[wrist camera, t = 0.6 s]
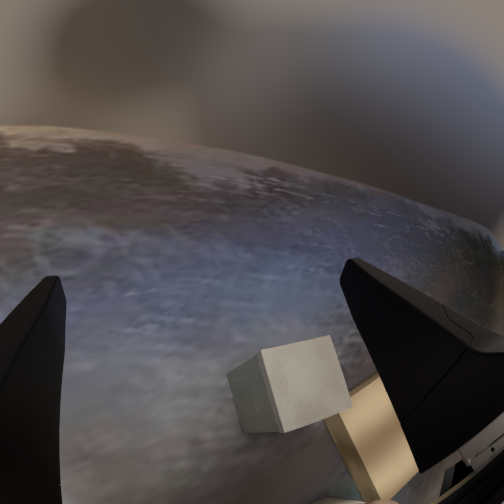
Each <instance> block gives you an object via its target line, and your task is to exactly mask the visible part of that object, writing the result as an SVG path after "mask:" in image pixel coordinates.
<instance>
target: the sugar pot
mask: <svg viewBox="0 0 504 504" xmlns="http://www.w3.org/2000/svg"><path fill="white" fill-rule="evenodd" d="M312 504H399V503H397V502H395V501H391V500H372V501H369V502H362V501H354V500H346V499H340V498H333V497H325V498H321V499H319V500H316V501H315V502H313V503H312Z"/></svg>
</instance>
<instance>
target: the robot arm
mask: <svg viewBox="0 0 504 504" xmlns="http://www.w3.org/2000/svg"><path fill="white" fill-rule="evenodd" d="M340 285H341V288H342V291H343V293H344V296H345V299H346V301H347V304H348V307H349V309H350V312H351V315H352V318H353V320H354V322H355V325H356V327H357V329H358V331H359V333H360V335H361V337H362V340H363V342H364V344H365V346H366V348H367V350H368V352H369V354H370V357H371V359H372V361H373V363H374V365H375V368H376V370H377V372H378V374H379V376H380V379H381V381H382V383H383V385H384V388H385V390H386V392H387V394H388V397H389V399H390V401H391V404H392V406H393V408H394V411H395V413H396V415H397V418H398V420H399V422H400V425H401V428H402V430H403V433H404V435H405V437H406V440H407V442H408V445H409V447H410V450H411V452H412V455H413V457H414V460H415V463H416V465H417V468H418V470H419V472H420V474H422V473H424V472H425V471H427V470H428V469H430V468H432V467H433V466H435V465H436V464H438V463H439V462H441V461H442V460H444V459H445V458H447V457H448V456H450V455H451V454H453V453H454V452H456V451H458V453H459V455H460V456H461V458H462V459H460V460H459V461H458V462H456V463H455V464H454V465H452V466H451V467H449V468H448V469H447V470H445V474H444V479H443V484H442V488H441V492H440V496H439V498H437V499H436V500H435V501H433V502H432V503H430V504H504V335H500V334H498V333H496V332H494V331H492V330H490V329H488V328H486V327H484V326H482V325H480V324H478V323H476V322H474V321H472V320H470V319H468V318H467V317H465V316H463V315H461V314H459V313H457V312H455V311H454V310H452V309H450V308H448V307H447V306H445V305H443V304H442V305H441V303H440V302H438V301H436V300H434V299H433V298H431V297H429V296H427V295H425V294H424V293H422V292H420V291H418V290H417V289H415V288H413V287H411V286H409V285H408V284H406V283H404V282H402V281H400V280H399V279H397V278H395V277H393V276H391V275H389V274H388V273H386V272H384V271H382V270H380V269H378V268H376V267H375V266H373V265H371V264H369V263H367V262H365V261H363V260H361V259H359V258H352V259H348V260H347V261H346V263H345V266H344V269H343V271H342V274H341V277H340ZM65 322H66V298H65V294H64V291H63V287H62V284H61V280H60V278H59V277H58V276H46V277H45V278H44V279H43V280H42V281H41V282H40V283H39V284H38V285H37V286H36V287H35V288H34V289H33V290H32V291H31V292H30V293H29V294H28V295H27V296H26V297H25V298H24V299H23V300H22V301H21V302H20V303H19V304H18V305H17V306H16V308H15V309H14V310H13V311H12V312H11V313H10V314H9V315H8V316H7V317H6V319H5V320H4V321H3V322H2V323H1V324H0V504H62V495H61V486H60V484H61V483H60V460H59V424H60V400H61V386H62V374H63V364H64V353H65Z"/></svg>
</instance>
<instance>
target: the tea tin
mask: <svg viewBox="0 0 504 504" xmlns="http://www.w3.org/2000/svg"><path fill="white" fill-rule="evenodd" d="M256 354H257V355H256V356H255V357H253V358H252V359H250V360H248V361H247V362H245V363H244V364H242V365H241V366H239V367H238V368H236V369H234V370H233V371H231V372H230V373H228V374H227V376H228V380H229V384H230V388H231V392H232V395H233V399H234V403H235V406H236V410H237V414H238V417H239V421H240V424H241V428H242V431H243V434H244V433H264V432H278V431H279V433H286V432H289V431H292V430H295V429H298V428H301V427H303V426H306V425H309V424H312V423H314V422H317V421H320V420H322V419H325V418H327V417H330V416H332V415H335V414H337V413H340V412H342V411H345V410H347V409H349V408H352V407H353V405H352V401H351V398H350V395H349V392H348V389H347V386H346V382H345V379H344V376H343V373H342V370H341V367H340V364H339V361H338V358H337V355H336V352H335V349H334V346H333V343H332V340H331V337H330V335H327V336H323V337H319V338H315V339H310V340H306V341H301V342H297V343H292V344H288V345H283V346H278V347H273V348H268V349H263V350H260V351H258V352H257V353H256Z"/></svg>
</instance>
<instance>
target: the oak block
mask: <svg viewBox="0 0 504 504" xmlns="http://www.w3.org/2000/svg"><path fill="white" fill-rule="evenodd" d="M349 395H350V398H351V401H352V405H353V407H352V408H349V409H347V410H345V411H342V412H340V413H337V414H335V415H332V416H330V417H327V418H325V419H323V420H324V422H325V424H326V426H327V428H328V430H329V432H330V434H331V436H332V438H333V440H334V442H335V444H336V446H337V448H338V450H339V452H340V454H341V456H342V458H343V460H344V462H345V464H346V466H347V468H348V470H349V472H350V474H351V476H352V478H353V480H354V482H355V484H356V486H357V488H358V490H359V492H360V494H361V496H362V498H363V500H364V502H369V501H372V500H390V499H391V498H392V497H393V496H394V495H395V494H396V493H397V492H398V491H399V490H400V489H401V488H402V487H403V486H404V485H405V484H406V483H407V482H408V481H409V480H410V479H411V478H412V477H413V476H414V475H415V474H416V473H417V472H418V471H419V470H418V468H417V465H416V463H415V460H414V457H413V455H412V452H411V450H410V447H409V445H408V442H407V440H406V437H405V435H404V433H403V430H402V428H401V425H400V422H399V420H398V418H397V415H396V413H395V411H394V408H393V406H392V404H391V401H390V399H389V397H388V394H387V392H386V390H385V388H384V385H383V383H382V381H381V379H380V376H379V374H378V372H377V373H375V374H374V375H373V376H371V377H370V378H368V379H367V380H365V381H364V382H362V383H361V384H360V385H358V386H357V387H355V388H354V389H352V390H351V391H349Z"/></svg>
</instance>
